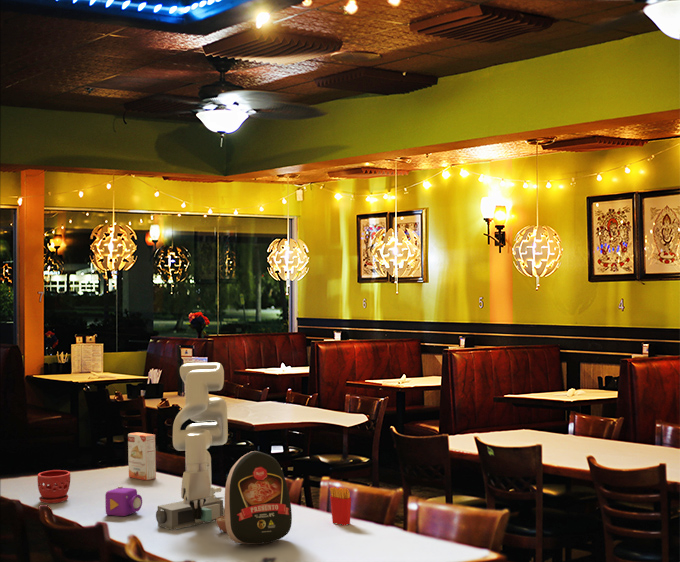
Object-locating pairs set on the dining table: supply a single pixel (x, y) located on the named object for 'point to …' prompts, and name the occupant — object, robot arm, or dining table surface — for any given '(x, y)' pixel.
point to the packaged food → (257, 500)
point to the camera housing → (181, 514)
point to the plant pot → (53, 486)
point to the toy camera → (122, 501)
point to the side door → (209, 513)
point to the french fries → (340, 505)
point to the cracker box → (141, 456)
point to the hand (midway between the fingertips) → (197, 518)
